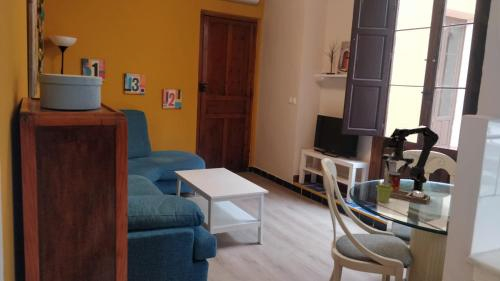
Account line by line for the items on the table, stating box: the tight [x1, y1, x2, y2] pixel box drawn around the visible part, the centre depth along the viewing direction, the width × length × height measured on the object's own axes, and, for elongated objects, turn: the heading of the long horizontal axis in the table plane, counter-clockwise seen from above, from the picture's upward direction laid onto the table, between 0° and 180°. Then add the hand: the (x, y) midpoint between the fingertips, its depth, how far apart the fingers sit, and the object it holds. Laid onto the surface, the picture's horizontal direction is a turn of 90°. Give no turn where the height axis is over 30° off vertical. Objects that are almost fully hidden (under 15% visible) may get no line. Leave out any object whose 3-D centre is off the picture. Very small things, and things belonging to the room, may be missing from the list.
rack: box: [390, 189, 431, 205], centre depth 245 cm, size 12×22×2 cm, turn 56°
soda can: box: [387, 171, 401, 190], centre depth 260 cm, size 7×7×12 cm
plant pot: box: [375, 184, 393, 203], centre depth 235 cm, size 9×9×9 cm
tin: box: [412, 190, 425, 199], centre depth 242 cm, size 6×6×5 cm
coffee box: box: [383, 159, 398, 186], centre depth 280 cm, size 9×6×16 cm
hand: (396, 171), depth 258 cm, fingers open, 9 cm apart
